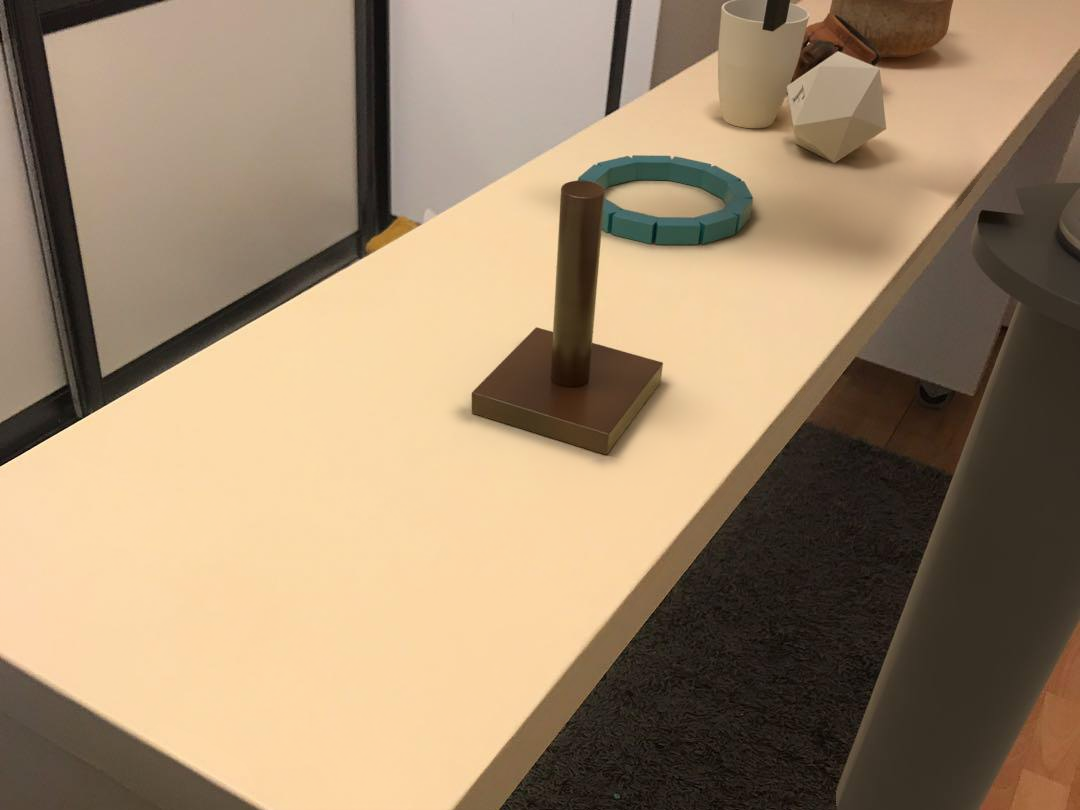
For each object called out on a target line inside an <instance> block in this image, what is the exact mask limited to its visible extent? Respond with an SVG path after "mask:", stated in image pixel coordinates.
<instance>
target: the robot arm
mask: <svg viewBox="0 0 1080 810" xmlns="http://www.w3.org/2000/svg"><path fill="white" fill-rule="evenodd" d="M790 3H791V0H767V5H766V11H765V17H764V23H763V28H762V30H767V31H772V32H773V31H775V30H776V29H777V28H779V27H780V26H782V25H783V24H785V23H786V20H787V15H788V10H789V4H790ZM1055 234H1056V238H1057V240H1058V242H1059V244H1060V245H1061V246H1062V248H1063V249H1064V250H1065V251H1066V252H1068V253H1069V254H1070V255H1071V256H1072V257H1074V258H1075V259H1077V260H1078V261H1080V188H1079V189H1078V190H1077V192H1076V193H1075V194H1074V195H1073V197H1072V198H1071V199H1070V200H1069V202H1068V203H1067V205H1066V207H1065V209H1064V210H1063V212H1062V214H1061V217H1060V220H1059V222H1058V225H1057V228H1056V232H1055Z"/></svg>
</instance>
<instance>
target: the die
mask: <svg viewBox="0 0 1080 810" xmlns="http://www.w3.org/2000/svg"><path fill="white" fill-rule="evenodd" d="M880 69H881V68H880V67H877V66H876V65H875V66H873V65H870V64H868V63H865V62H863V61H861V60H858V59H856V58H853V57H851V56H848V55H846V54H844V53H841V52H839V51H838V52H836V53H835V54H833V55H832V56H830V57H829V58H827V59H826V60H824V61H823V62H821V63H820V64H818V65H817V66H816V67H814V68H813V69H811V70H810V71H808V72H807V73H805V74H804V75H802V76H801V77H799V78H798V79H796V80H795V81H794V82H792V83H791V84H789V85H788V86H787V91H788V94H787V97H788V104H789V110H790V116H791V122H792V129H793V135H794V141H795V144H796V145H798V146H800V147H801V148H804V149H806V150H807V151H810V152H811V153H813V154H815V155H817V156H819V157H821V158H823V159H825V160H827V161H829V162H831V163H833V164H835V163H837V162H838V161H840V160H841V159H843V158H844V157H846V156H848V155H849V154H850V153H852V152H853V151H856V150H857V149H858V148H860V147H861V146H863V145H864V144H866V143H868V142H869V141H870V140H872V139H873V138H875V137H877V136H878V135H880V134H881V133H883V132H884V131H885V130H887V122H886V121H887V120H886V112H885V104H884V95H883V86H882V77H881V70H880Z"/></svg>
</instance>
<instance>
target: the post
mask: <svg viewBox="0 0 1080 810" xmlns="http://www.w3.org/2000/svg"><path fill="white" fill-rule="evenodd" d="M605 195H606V189H605V190H604V188H603V187H602V186H601V185H599V184H597V183H594V182H590V181H577V180H572V181H571V180H570V181H567V182H565V183H563V184H562V186H561V188H560V196H559V197H560V200H559V215H558V233H557V235H558V236H557V252H556V268H555V270H556V271H555V286H554V287H555V288H554V289H555V290H554V307H553V308H554V309H553V322H552V323H553V326H552V330H549V329H544V328H541V327H537V326H536V327H535V328H534V329H532V331H531V332H530V333H529V334H528V335H527V336H526V337H524V339H523V340H522V341H521V342H520V343H519V344H517V346H516V347H514V349H513V350H512V351H511V352H510V353H508V355H507V356H506V357H505V358H504V359H503V360H502V361H501V362H500V363H499V364H498V365H497V366H496V367H495V368H494V369H493V370H492V371H491V372H490V373H489V374H488V376H486V378H484V379H483V380H482V382H481V383H479V384H478V386H476V387H475V388H474V390H473V391H472V392H471V413H472V414H474V415H478V416H480V417H484V418H486V419H490V420H494V421H497V422H500V423H503V424H507V425H510V426H512V427H516V428H519V429H522V430H526V431H528V432H532V433H535V434H538V435H540V436H545V437H548V438H551V439H555V440H556V441H557V440H558V441H560V442H564V443H567V444H570V445H574V446H577V447H580V448H583V449H586V450H589V451H592V452H596V453H598V454H602V455H606V456H607V455H608V454H609V452H610V451H611V450H612V448H613V447H614V445H616V443H617V441H618V440H619V439H620V438H621V436H622V435H623V433H624V432H625V431H626V430H627V428H628V427H629V426H630V424H631V422H633V420H634V418H635V417H636V416H637V415H638V414H639V412H640V411H641V409H642V408H643V406H644V405H645V404H646V403H647V401H648V400H649V398H650V397H651V395H652V394H653V393H654V392H655V390H656V389H657V387H658V386H659V385H660V383H661V381H662V375H663V367H664V362H662V361H660V360H655V359H653V358H652V359H651V358H649V357H645V356H642V355H638V354H634V353H630V352H626V351H624V350H619V349H616V348H613V347H608V346H605V345H603V344H598V343H595V342H593V338H594V327H595V316H596V314H595V313H596V304H597V303H596V302H597V293H598V281H599V279H598V278H599V267H600V255H601V242H602V231H603V230H602V220H603V208H604V198H605Z"/></svg>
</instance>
